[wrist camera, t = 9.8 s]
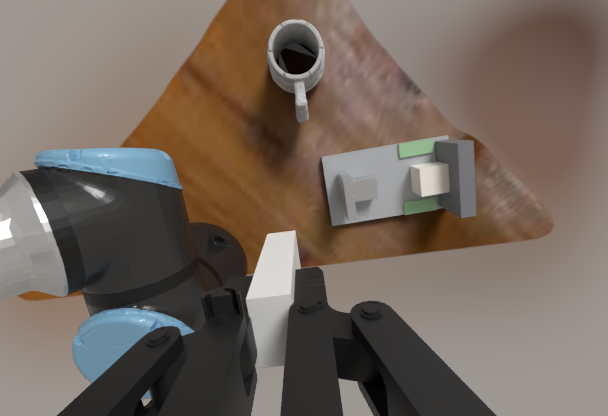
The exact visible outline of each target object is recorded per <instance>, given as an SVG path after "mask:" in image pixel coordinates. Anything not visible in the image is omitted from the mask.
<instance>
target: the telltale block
mask: <svg viewBox="0 0 608 416" xmlns="http://www.w3.org/2000/svg"><path fill="white" fill-rule="evenodd" d="M410 173H411V184H412V192H414V193H416V194H418V195H419V196H421V197H424V196H430V195H436V194H442V193H448V192H450V186H449V168H448V164H445V163H441V162H437V161H436V162H430V163H424V164H418V165H412V166H410Z"/></svg>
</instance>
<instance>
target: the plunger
mask: <svg viewBox="0 0 608 416" xmlns="http://www.w3.org/2000/svg"><path fill="white" fill-rule="evenodd" d="M338 178H339V185H340V192H341V199H342V206H343V211H344V213H345V215H346V217H347V219H348V221H354V220H357V213H356V205H355V202H358V201H364V200H370V199H376V198H378V190H377V181H376V178H375V177H374V176H371V177H365V178H359V179H353V180H352V177H351V176H350V175H349V174H348V173H347V172H346V171H341V172H338Z"/></svg>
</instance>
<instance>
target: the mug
mask: <svg viewBox="0 0 608 416" xmlns="http://www.w3.org/2000/svg"><path fill="white" fill-rule="evenodd" d="M299 44H302V45H304V46H307V47H308V48H309V49H311V50H312V52H313V53H314V54H315V55H313V54H312V53H310V52H309V51H308V50H306V49H305V48H303V47H302V46H301V45H299ZM284 48H287V49H290V50H294V51H297V52H300V53H303V54H306V55H309V56H313V57H316V59H317V60H316V63H315V64H314V66H313V67H312V68H311V69H310V70H309V71H308V72H306V73H303V74H300V75H291V74H288V71H287V69H286V66H285V64H284V61H283V59H282V57H281V54H280V53H281V51H282V50H283V49H284ZM278 56H279V67H278V65H277V59H278ZM267 59H268V64H269V68H270V72H271V75H272V78H273V80H274V81H275V82H276V84H277V85H278V86H279V87H280V88H282V89H283V90H285V91H287V92H290V93H295V98H296V99H295V106H296V118H297V121H298V122H299V123H303V122H306V121H307V120H308V119H309V113H308V107H307V100H306V94H305V92H307V91H309V90H311V89H312V88H313V87H315V86H316V85H317V83H318V82H319V81H320V80H321V78H322V74H323V71H324V60H325V51H324V46H323V43H322V39H321V37H320V35H319V33H318V31H317V30H316V29H315V27H314V26H313V25H311V24H310V23H308V22H306V21H304V20H288V21H285V22H283V23H281V25H278V26H277V27H276V28H275V29H274V31H273V32H272V34H271V36H270V39H269V43H268V51H267Z"/></svg>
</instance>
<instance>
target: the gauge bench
mask: <svg viewBox="0 0 608 416" xmlns="http://www.w3.org/2000/svg"><path fill="white" fill-rule="evenodd" d="M321 158H322V165H323V171H324V177H325V184H326V190H327V197H328V203H329V210H330V216H331V223H332V226H337V225H343V224H349V223H355V222H361V221H367V220H373V219H379V218H385V217H392V216H398V215H404V214H405V215H409V214H415V213H421V212H427V211H433V210H437V209H440V208H444V209H446V210H448V211H450V212H451V213H453V214H455V215H457V216H458V217H460V218H465V217H471V216H476V197H475V168H474V141H468V140H454V139H448V136H439V137H433V138H427V139H422V140H416V141H410V142H404V143H398V144H393V145H387V146H381V147H375V148H369V149H364V150H358V151H352V152H346V153H340V154H335V155H329V156H323V157H321ZM436 161H437V162H441V163H445V164H448V168H449V186H450V192H448V193H442V194H436V195H430V196H424V197H421V196H419V195H418V194H416V193H414V192H412V184H411V173H410V166H412V165H418V164H424V163H430V162H436ZM341 171H346V172H347V173H348V174H349V175H350V176H351V177H352V180H353V179H359V178H365V177H371V176H374V177H375V178H376V181H377V190H378V198H376V199H370V200H364V201H358V202H355V205H356V213H357V220H354V221H348V219H347V217H346V215H345V213H344V211H343V206H342V199H341V192H340V185H339V178H338V172H341Z"/></svg>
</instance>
